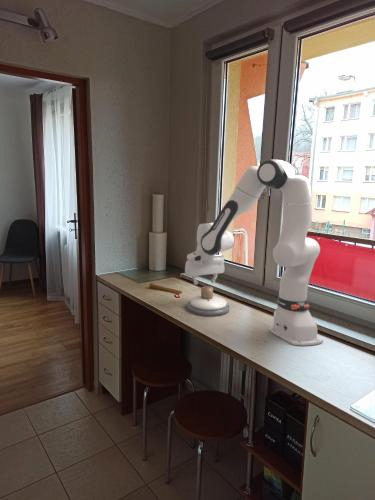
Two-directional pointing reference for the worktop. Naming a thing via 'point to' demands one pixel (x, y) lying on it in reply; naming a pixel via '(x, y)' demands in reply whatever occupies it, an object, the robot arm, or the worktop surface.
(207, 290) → the dial
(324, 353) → the worktop surface
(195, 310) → the base
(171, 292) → the primitive tool
